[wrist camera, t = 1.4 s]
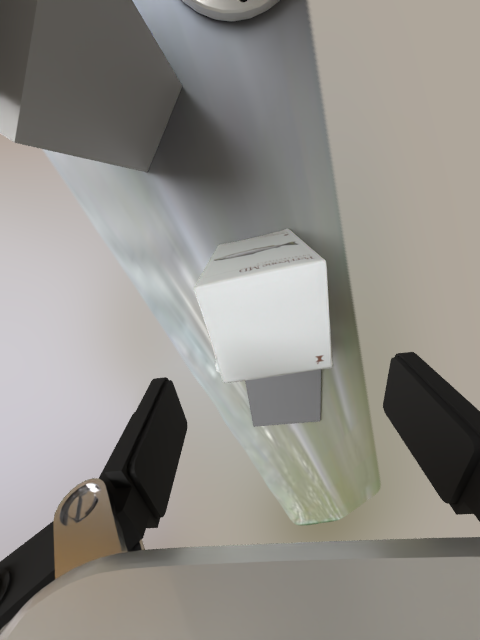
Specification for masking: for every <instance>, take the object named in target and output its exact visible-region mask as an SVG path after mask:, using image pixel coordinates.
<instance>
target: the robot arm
mask: <svg viewBox="0 0 480 640" xmlns="http://www.w3.org/2000/svg"><path fill="white" fill-rule="evenodd" d="M181 1H183V2H184V3H186V4H187V5H188V6H190V7H191V8H192V9H194V10H195V11H197V12H198V13H200V14H203V15H205V16H208V17H210V18H213V19H216V20H224V21H238V20H244V19H250V18H252V17H254V16H257V15H259V14H261V13H263V12H265V11H267V10H268V9H270V8H271V7H272V6H274V5H275V4H276V3H277V2H279V1H280V0H247V1H246V2H245V3H244V2H241V1H240V0H181ZM383 408H384V411H385V413H386V415H387V417H388V418H389V419H390V421H391V423H392V424H393V426H394V427H395V429H396V430H397V432H398V433H399V435H400V436H401V438H402V440H403V441H404V442H405V444H406V446H407V447H408V449H409V450H410V452H411V453H412V455H413V456H414V458H415V459H416V461H417V462H418V464H419V465H420V467H421V468H422V470H423V472H424V473H425V475H426V476H427V478H428V479H429V481H430V482H431V484H432V485H433V487H434V488H435V490H436V492H437V493H438V495H439V496H440V498H441V499H442V500H443V501H444V502H445V503H449V504H450V506H451V507H452V508H453V510H454V512H455V513H456V514H474V515H475V516H476V517H477V519H478V520H479V521H480V411H479V410H477V409H476V408H475V407H474V406H473V405H472V404H471V403H470V402H469V401H468V400H466V399H465V398H464V397H463V396H462V395H461V394H460V393H459V392H458V391H456V390H455V389H454V388H453V387H452V386H451V385H450V384H449V383H448V382H447V381H445V380H444V379H443V378H442V377H441V376H440V375H439V374H438V373H437V372H435V371H434V370H433V369H432V368H431V367H430V366H429V365H428V364H427V363H426V362H424V361H423V360H422V359H421V358H420V357H419V356H418V355H417V354H415V353H414V352H408V353H398V354H396V355H395V357H394V358H392V359H391V363H390V369H389V374H388V379H387V385H386V391H385V397H384V402H383ZM186 431H187V420H186V418H185V415H184V412H183V409H182V407H181V404H180V401H179V398H178V396H177V393H176V390H175V387H174V385H173V382H172V381H171V380H170V381H169V380H168V378H157V379H153V380H152V381H151V383H150V385H149V387H148V389H147V391H146V393H145V395H144V397H143V399H142V401H141V403H140V405H139V406H138V408H137V410H136V412H135V413H134V414H133V415H132V417H131V419H130V421H129V422H128V424H127V426H126V428H125V430H124V432H123V434H122V436H121V438H120V440H119V441H118V443H117V445H116V447H115V449H114V451H113V453H112V455H111V456H110V458H109V460H108V462H107V464H106V466H105V468H104V470H103V472H102V473H101V475H100V477H99V479H97V478H92V479H89V480H86V481H84V482H82V483H80V484H78V485H77V486H76V487H75V488H73V489H72V490H71V491H70V492H69V493H68V494H67V495H66V496H65V497H64V498H63V500H62V501H61V503H60V504H59V506H58V508H57V510H56V512H55V515H54V521H53V522H52V523H50V524H49V525H48V526H46V527H45V528H44V529H42V530H41V531H40V532H39V533H37V534H36V535H35V536H34V537H32V538H31V539H29V540H28V541H27V542H25V543H24V544H23V545H22V546H20V547H19V548H18V549H16V550H15V551H14V552H13V553H11V554H10V555H9V556H7V557H6V558H5V559H3V560H2V561H1V562H0V640H480V537H472V538H470V537H469V538H423V539H390V540H359V541H330V542H303V543H276V544H251V545H228V546H203V547H184V548H167V549H152V550H145V548H144V545H143V541H142V538H143V536H144V533H145V530H146V528H158V524H159V520H160V517H163V516H164V515H165V512H166V509H167V505H168V501H169V497H170V493H171V489H172V485H173V482H174V478H175V474H176V470H177V466H178V462H179V458H180V455H181V451H182V446H183V443H184V439H185V435H186Z"/></svg>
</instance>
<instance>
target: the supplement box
mask: <svg viewBox="0 0 480 640" xmlns="http://www.w3.org/2000/svg"><path fill="white" fill-rule="evenodd" d="M194 292H195V294H196V297H197V300H198V303H199V306H200V309H201V312H202V315H203V318H204V321H205V324H206V328H207V331H208V334H209V338H210V341H211V344H212V348H213V351H214V354H215V357H216V361H217V364H218V367H219V371H220V374H221V377H222V381H223V382H224V383H233V382H240V381H245V380H252V379H259V378H265V377H272V376H280V375H286V374H292V373H298V372H305V371H312V370H319V369H326V368H332V367H333V360H332V346H331V332H330V318H329V301H328V280H327V265H326V260H325V259H323V258H322V257H321V256H320V255H319V254H317V253H316V252H315V251H314V250H313V249H312V248H310V247H309V246H308V245H307V244H306V243H305V242H304V241H302V240H301V239H300V238H299V237H298V236H297V235H296V234H294V233H293V232H292V231H291V230H290V229H285V230H281V231H278V232H274V233H271V234H267V235H262V236H258V237H254V238H249V239H244V240H240V241H235V242H230V243H225V244H219V245H218V247H217V248H216V250H215V252H214V253H213V255H212V257H211V259H210V260H209V262H208V264H207V266H206V267H205V269H204V271H203V273H202V274H201V276H200V278H199V280H198V281H197V283H196V285H195V286H194Z"/></svg>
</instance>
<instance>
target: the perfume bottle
mask: <svg viewBox="0 0 480 640" xmlns="http://www.w3.org/2000/svg"><path fill="white" fill-rule="evenodd" d="M181 89H182V85H181V83H180V81H179V80H178V78H177V76H176V74H175V73H174V71H173V69H172V68H171V66H170V64H169V62H168V61H167V59H166V57H165V56H164V54H163V52H162V51H161V49H160V47H159V45H158V44H157V42H156V40H155V39H154V37H153V35H152V33H151V32H150V30H149V28H148V27H147V25H146V23H145V22H144V20H143V18H142V16H141V15H140V13H139V11H138V10H137V8H136V6H135V4H134V3H133V1H132V0H0V133H1V134H2V135H4V136H5V137H7V138H8V139H10V140H11V141H13V142H15V143H20V144H23V145H28V146H33V147H37V148H41V149H46V150H50V151H55V152H59V153H64V154H68V155H73V156H77V157H81V158H86V159H90V160H95V161H99V162H104V163H108V164H113V165H117V166H122V167H126V168H130V169H135V170H139V171H144V172H148V170H149V167H150V165H151V163H152V160H153V158H154V155H155V153H156V150H157V148H158V145H159V143H160V140H161V138H162V135H163V133H164V130H165V128H166V126H167V123H168V121H169V118H170V116H171V113H172V111H173V108H174V106H175V103H176V101H177V98H178V96H179V93H180V91H181Z"/></svg>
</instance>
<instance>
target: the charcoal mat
mask: <svg viewBox="0 0 480 640" xmlns="http://www.w3.org/2000/svg"><path fill="white" fill-rule="evenodd" d="M245 382H246V387H247V393H248V398H249V404H250V409H251V415H252V420H253V426H254V427H255V426H267V425H279V424H292V423H304V422H317V421H320V402H321V369H319V370H312V371H305V372H298V373H292V374H286V375H280V376H272V377H265V378H259V379H252V380H245Z"/></svg>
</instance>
